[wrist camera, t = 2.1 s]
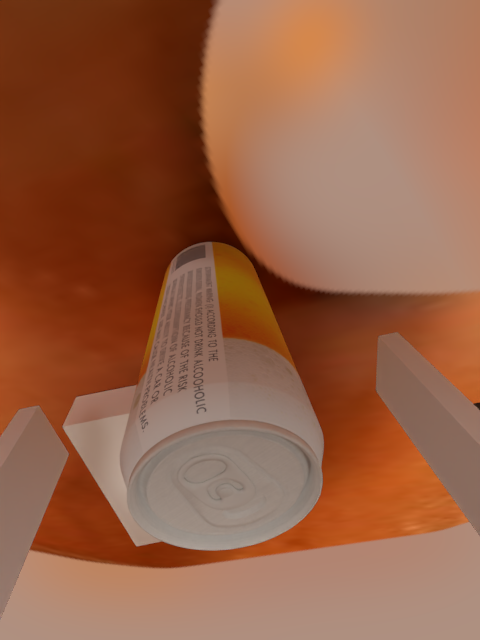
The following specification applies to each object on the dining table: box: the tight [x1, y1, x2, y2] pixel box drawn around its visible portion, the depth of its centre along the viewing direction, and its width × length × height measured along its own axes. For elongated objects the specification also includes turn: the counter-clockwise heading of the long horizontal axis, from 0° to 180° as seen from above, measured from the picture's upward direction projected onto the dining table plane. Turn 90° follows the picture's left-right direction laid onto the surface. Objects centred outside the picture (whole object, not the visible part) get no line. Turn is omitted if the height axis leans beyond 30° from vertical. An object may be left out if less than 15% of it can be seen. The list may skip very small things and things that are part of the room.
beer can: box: [120, 242, 324, 550], centre depth 15 cm, size 6×6×15 cm
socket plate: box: [62, 385, 161, 547], centre depth 28 cm, size 16×16×4 cm
